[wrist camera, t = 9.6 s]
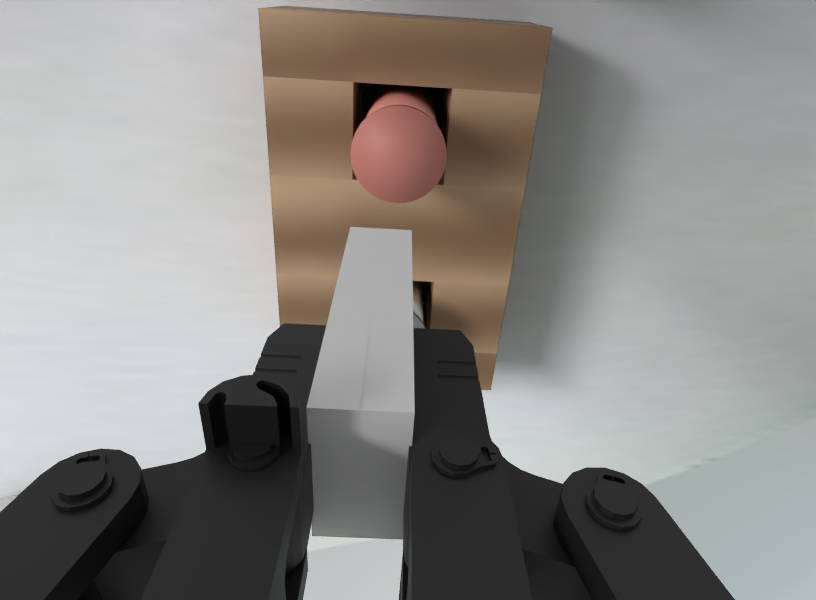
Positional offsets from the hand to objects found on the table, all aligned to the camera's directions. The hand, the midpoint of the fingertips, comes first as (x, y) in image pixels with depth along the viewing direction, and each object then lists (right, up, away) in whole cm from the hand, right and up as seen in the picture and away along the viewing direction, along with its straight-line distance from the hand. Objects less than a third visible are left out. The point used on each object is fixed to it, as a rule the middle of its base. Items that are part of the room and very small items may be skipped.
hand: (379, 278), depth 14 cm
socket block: (0, +6, +23) cm, 23 cm away
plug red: (0, +10, +19) cm, 22 cm away
